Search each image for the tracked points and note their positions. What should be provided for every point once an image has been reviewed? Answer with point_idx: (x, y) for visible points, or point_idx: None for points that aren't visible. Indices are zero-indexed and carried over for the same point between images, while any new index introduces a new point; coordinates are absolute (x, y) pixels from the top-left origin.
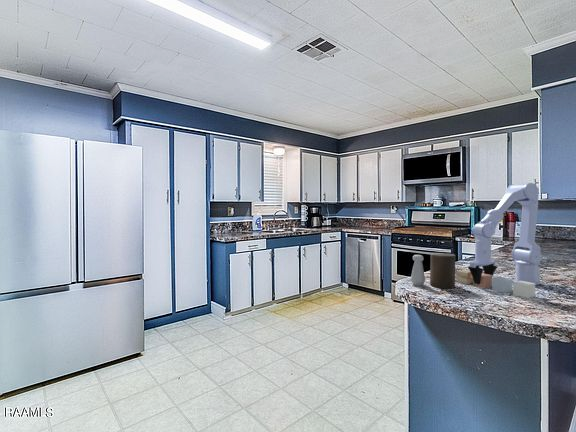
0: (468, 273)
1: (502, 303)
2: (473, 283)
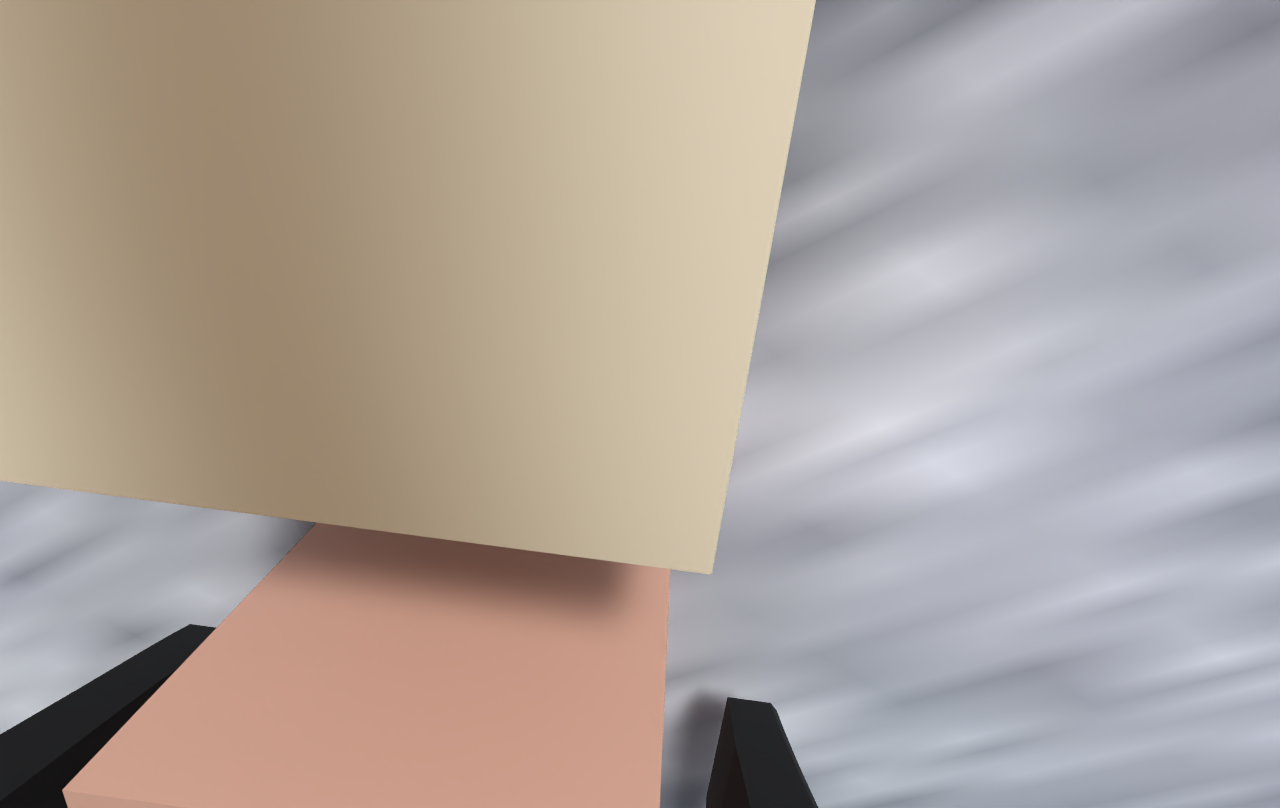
0: (189, 468)
1: None
2: (312, 535)
